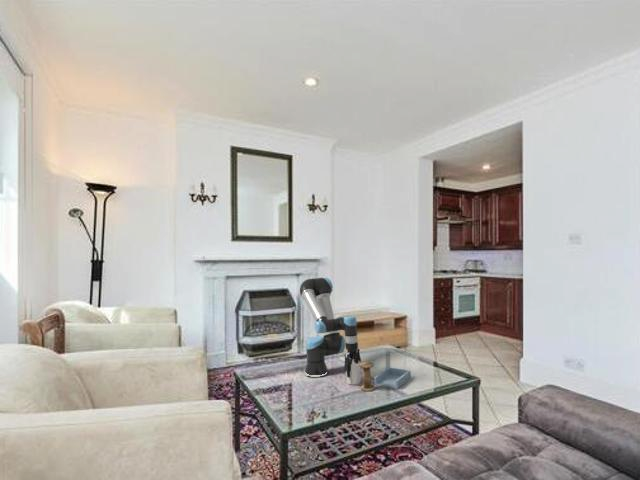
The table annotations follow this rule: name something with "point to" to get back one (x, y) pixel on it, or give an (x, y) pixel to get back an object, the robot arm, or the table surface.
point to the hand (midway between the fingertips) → (353, 379)
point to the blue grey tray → (392, 377)
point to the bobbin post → (367, 376)
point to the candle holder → (355, 373)
